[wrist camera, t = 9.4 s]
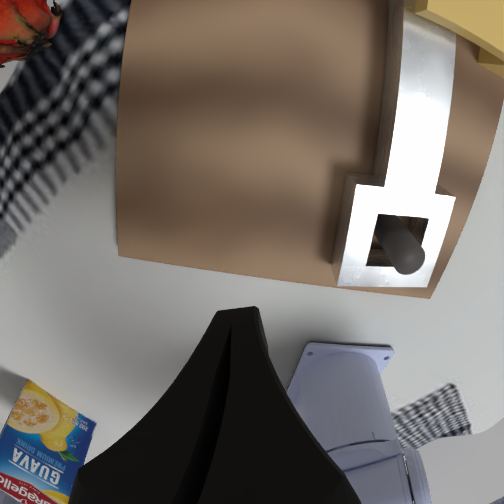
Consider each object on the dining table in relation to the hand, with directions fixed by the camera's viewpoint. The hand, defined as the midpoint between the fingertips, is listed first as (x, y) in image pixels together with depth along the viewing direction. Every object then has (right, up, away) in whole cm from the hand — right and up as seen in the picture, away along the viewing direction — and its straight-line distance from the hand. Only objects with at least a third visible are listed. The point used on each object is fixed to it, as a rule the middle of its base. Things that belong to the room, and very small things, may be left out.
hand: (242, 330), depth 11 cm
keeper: (+12, +15, +1) cm, 19 cm away
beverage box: (-26, -19, +24) cm, 40 cm away
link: (+8, +9, +5) cm, 13 cm away
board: (+4, +10, +6) cm, 12 cm away
